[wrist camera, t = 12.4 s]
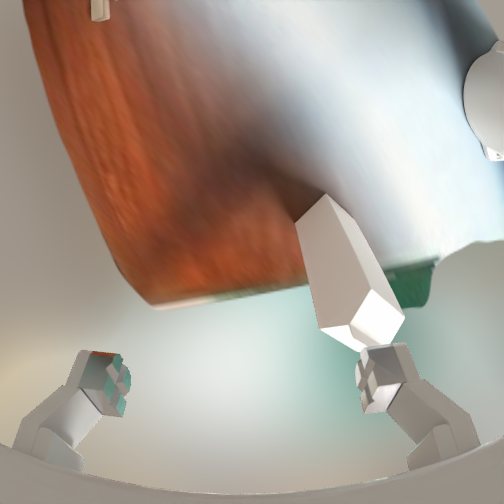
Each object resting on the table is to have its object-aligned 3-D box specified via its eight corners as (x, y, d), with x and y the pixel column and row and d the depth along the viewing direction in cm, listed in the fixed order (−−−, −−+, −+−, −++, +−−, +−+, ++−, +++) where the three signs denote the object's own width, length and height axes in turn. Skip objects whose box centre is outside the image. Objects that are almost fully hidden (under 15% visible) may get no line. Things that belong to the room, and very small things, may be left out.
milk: (325, 192, 40) (384, 313, 22) (354, 219, 42) (418, 342, 24) (293, 223, 43) (323, 357, 24) (323, 248, 45) (365, 378, 26)
